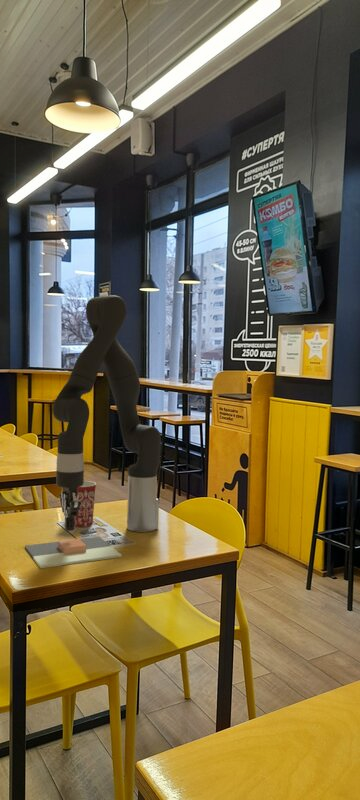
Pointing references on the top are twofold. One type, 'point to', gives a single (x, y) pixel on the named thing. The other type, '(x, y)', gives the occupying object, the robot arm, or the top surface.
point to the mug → (85, 504)
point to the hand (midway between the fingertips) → (69, 529)
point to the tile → (71, 546)
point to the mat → (54, 556)
